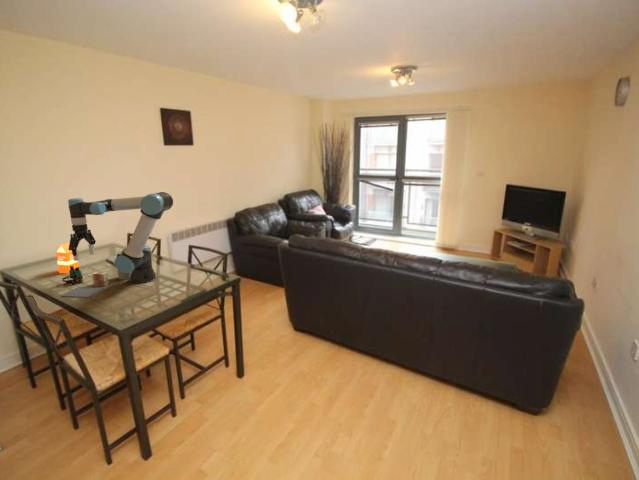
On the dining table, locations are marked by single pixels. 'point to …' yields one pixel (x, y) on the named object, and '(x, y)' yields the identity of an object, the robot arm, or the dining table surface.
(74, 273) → the binoculars
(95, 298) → the dining table surface
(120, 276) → the travel mug
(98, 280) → the wooden block
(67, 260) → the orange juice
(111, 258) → the tablet
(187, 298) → the dining table surface
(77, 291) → the mat
